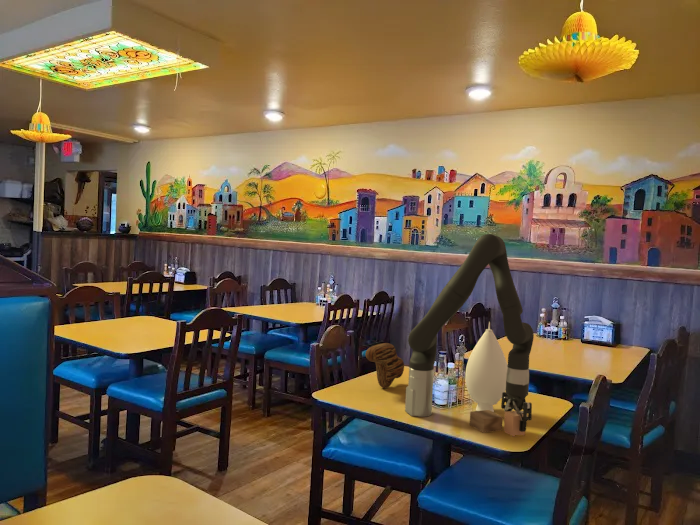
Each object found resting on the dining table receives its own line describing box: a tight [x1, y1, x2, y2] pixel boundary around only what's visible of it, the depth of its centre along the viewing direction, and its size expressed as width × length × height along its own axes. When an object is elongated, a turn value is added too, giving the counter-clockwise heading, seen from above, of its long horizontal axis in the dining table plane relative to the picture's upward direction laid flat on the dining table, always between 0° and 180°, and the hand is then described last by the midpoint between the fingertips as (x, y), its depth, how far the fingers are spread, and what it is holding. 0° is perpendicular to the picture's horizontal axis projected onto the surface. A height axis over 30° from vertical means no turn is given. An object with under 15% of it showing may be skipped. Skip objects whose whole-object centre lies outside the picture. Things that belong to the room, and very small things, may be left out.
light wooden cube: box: [503, 410, 526, 437], centre depth 190 cm, size 5×5×7 cm
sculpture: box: [364, 342, 405, 389], centre depth 238 cm, size 26×8×20 cm, turn 145°
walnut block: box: [469, 410, 504, 434], centre depth 194 cm, size 8×8×5 cm
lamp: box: [464, 321, 508, 413], centre depth 213 cm, size 16×16×35 cm
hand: (515, 426), depth 190 cm, fingers open, 8 cm apart
